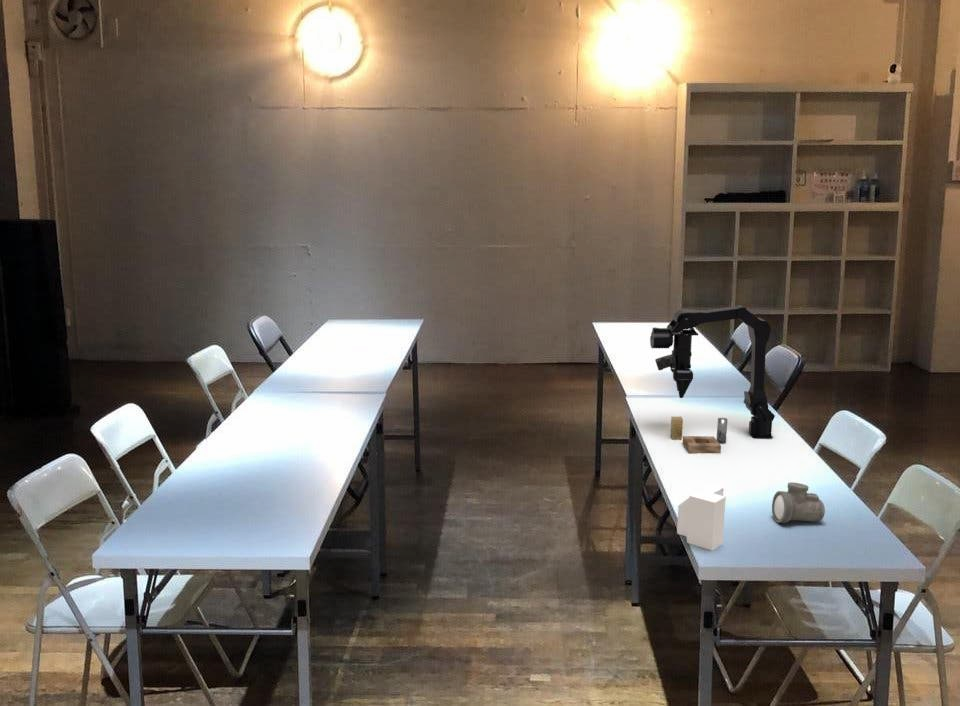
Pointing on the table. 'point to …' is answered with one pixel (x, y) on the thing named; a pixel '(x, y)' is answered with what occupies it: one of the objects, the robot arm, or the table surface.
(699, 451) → the bore block
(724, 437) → the cylinder
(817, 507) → the pipe fitting
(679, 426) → the square bit
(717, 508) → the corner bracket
